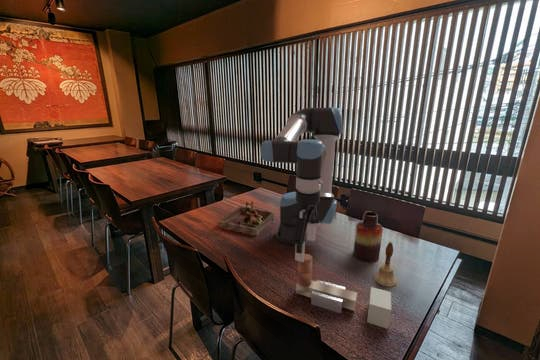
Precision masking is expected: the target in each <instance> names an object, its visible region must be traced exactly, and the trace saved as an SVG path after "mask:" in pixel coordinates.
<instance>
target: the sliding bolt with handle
mask: <svg viewBox="0 0 540 360" xmlns="http://www.w3.org/2000/svg"><path fill="white" fill-rule="evenodd" d="M297 263H298V264H297V281H296V284H295V294H298V295H301V296H304V297H307V298H310V299H311V296H312V291H315V292H318V293H322V294H325V295H329V296H332V297H336V298H339V299H342V300H343V302H342V309H343V308H344V309H347V310H350V311H354V312H355V311H356V305H357V298H358V292H356V291H353V290H349V289H346V288H345V289H342V288H338V287H335V286H331V285H327V284H324V283H320V282H317V280H313V279H312V278H313V277H312V275H313V256H312V255H311V254H309V253H304V262H301V261H297Z"/></svg>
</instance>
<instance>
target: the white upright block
mask: <svg viewBox="0 0 540 360" xmlns="http://www.w3.org/2000/svg"><path fill="white" fill-rule="evenodd" d="M391 314H392V292H391V291H388V290H384V289H380V288H376V287H372V286H371V287H370V293H369V299H368V309H367V320H366V322H367V324H371V325H374V326H377V327H380V328H384V329H387V330H388V329H389V326H390V320H391V316H392V315H391Z"/></svg>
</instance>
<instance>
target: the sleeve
mask: <svg viewBox="0 0 540 360" xmlns="http://www.w3.org/2000/svg"><path fill="white" fill-rule="evenodd" d="M316 281H317V282H320V283H324V284H327V285H331V286H335V287H338V288H342V289H346V287H345V286H343V285H339V284H335V283H330V282H328V281H324V280H320V279H316ZM310 299H311V302H310V304H311V305H312V306H315V307H319V308H322V309H325V310H329V311H332V312H335V313H338V314H342V312H343V307H342V302H343V300H342V299H339V298H336V297H332V296H329V295H325V294H322V293H318V292H315V291H312V296H311V298H310Z"/></svg>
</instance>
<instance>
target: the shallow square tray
mask: <svg viewBox="0 0 540 360" xmlns="http://www.w3.org/2000/svg"><path fill="white" fill-rule="evenodd" d="M246 210H247V209H246V206H242V205H240V206H239V207H237V208H236V209H235V210H233V211H231V212H230V213H229V214H228V215H226V216H225V217H224V218H222V219H221V220H219V221H218V224H219V228H220V227H222V228H226V229H230V230H234V231H233V232H235V231H238V232H237V233H239V232H243V233H242V234H244V233H247V234H246V235H248V234H250V235H249V236H253V235H255V236H254V237H258V236H259V235H260V234H261V233H262V232H263V231H264V230H265V229H266V228H267V227H266V226H267V225H268V226H269V225H270V223H272V221H273V220H274V219H275V212H274V211H271V210H270V211H269V210H264V209H259V208H255V210H256V211H257V213H258V215H261V216H265V217H264V219H263V220H264V221H263V222H262V223H261V224H260V225H259V226H258V227H257V228H252V227H247V226H243V225H241V224H237V223H232V222H231V221H232V220H231V219H232V218H234V217H235V216H236V215H238V214H239V213H240V212H245V211H246ZM239 215H240V214H239ZM239 215H238V216H239ZM266 217H267V218H266ZM235 218H236V217H235ZM235 218H234V219H235ZM273 218H274V219H273ZM272 219H273V220H272ZM230 220H231V221H230ZM229 221H230V222H229ZM265 227H266V228H265ZM222 228H221V229H222ZM264 228H265V229H264ZM226 229H225V230H226ZM263 229H264V230H263ZM230 230H229V231H230ZM262 230H263V231H262ZM261 231H262V232H261ZM260 232H261V233H260ZM259 233H260V234H259ZM258 234H259V235H258ZM257 235H258V236H257Z"/></svg>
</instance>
